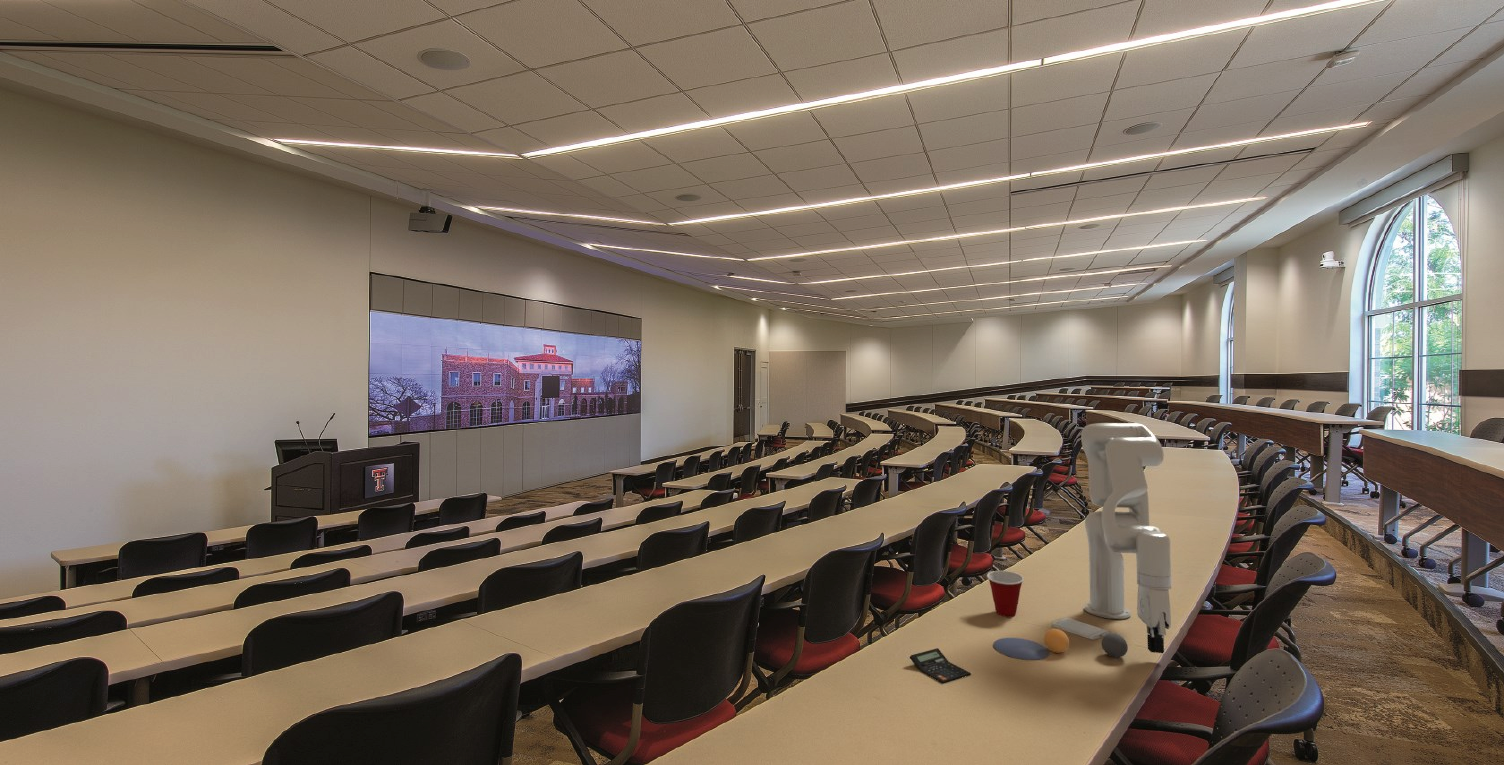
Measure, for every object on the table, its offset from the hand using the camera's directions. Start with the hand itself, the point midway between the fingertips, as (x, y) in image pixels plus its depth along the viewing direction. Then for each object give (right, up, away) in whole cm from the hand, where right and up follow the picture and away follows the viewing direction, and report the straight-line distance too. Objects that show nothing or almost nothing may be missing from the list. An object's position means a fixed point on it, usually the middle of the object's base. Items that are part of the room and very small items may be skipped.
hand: (1155, 651), depth 161 cm
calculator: (-57, -4, -4) cm, 57 cm away
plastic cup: (-25, -3, +35) cm, 43 cm away
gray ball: (-9, 0, +3) cm, 10 cm away
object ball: (-23, 0, +6) cm, 24 cm away
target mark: (-31, -3, +8) cm, 33 cm away
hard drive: (-9, -4, +21) cm, 23 cm away
